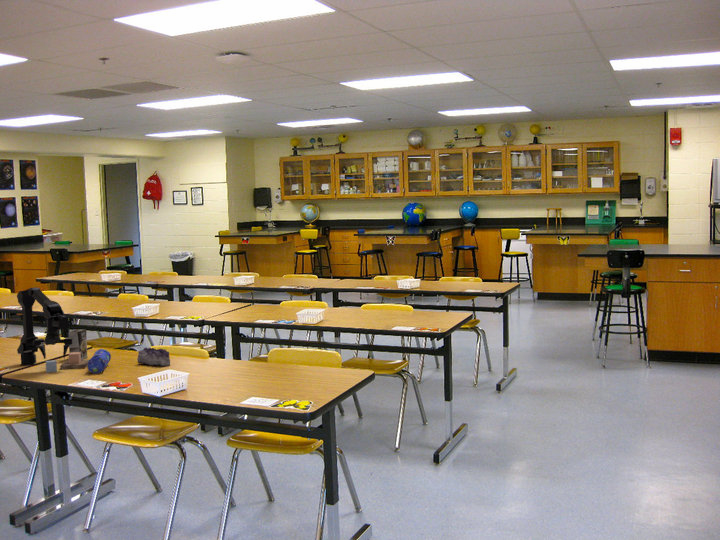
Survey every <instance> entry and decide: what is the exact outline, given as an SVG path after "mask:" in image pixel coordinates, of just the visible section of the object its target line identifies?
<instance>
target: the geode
mask: <svg viewBox="0 0 720 540" xmlns="http://www.w3.org/2000/svg"><path fill="white" fill-rule="evenodd" d="M137 353H138V355H137V364H144V365H147V366H149V367H153V366H160V367H162V368H164V367H170V366H171V359H170V352H169V351H167V350H166V349H165V348H157V349H156V348H154V347H143V349H141V350H139V351H138V352H137Z"/></svg>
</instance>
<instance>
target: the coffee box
mask: <svg viewBox="0 0 720 540" xmlns="http://www.w3.org/2000/svg"><path fill="white" fill-rule="evenodd" d="M87 336H88V335H87V329H85V328H83V329H81V328H80V329H73V330H71V331H68V337H73V338H74V343H73V344H71V345H70V346H69V347H68V350H69V352H68V354H69V353H71V352H81V360H86V359H87V358H88V341H87V340H88V339H87Z"/></svg>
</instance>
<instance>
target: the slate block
mask: <svg viewBox="0 0 720 540" xmlns="http://www.w3.org/2000/svg"><path fill="white" fill-rule="evenodd" d="M57 372H58V368H57V359H56V360H55V359H54V360H53V359H52V360H46V361H45V373H47V374H48V373H57Z"/></svg>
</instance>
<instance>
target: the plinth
mask: <svg viewBox="0 0 720 540" xmlns="http://www.w3.org/2000/svg"><path fill="white" fill-rule="evenodd" d="M89 360H90V359H83V360H81V362H80V363H77V364H69V360H65V361H63V363H61V365H60V366H59V367H60V368H59V369H60V370H76V369H78V370H79V369H86V368H88V366H87V365H88V362H89Z"/></svg>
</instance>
